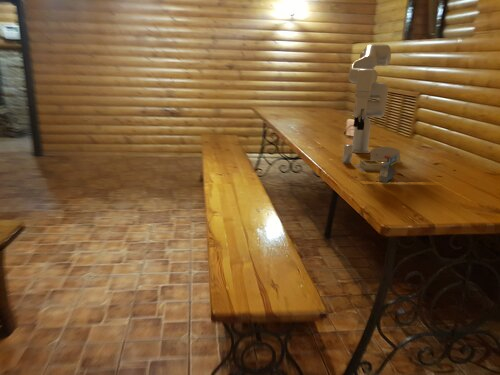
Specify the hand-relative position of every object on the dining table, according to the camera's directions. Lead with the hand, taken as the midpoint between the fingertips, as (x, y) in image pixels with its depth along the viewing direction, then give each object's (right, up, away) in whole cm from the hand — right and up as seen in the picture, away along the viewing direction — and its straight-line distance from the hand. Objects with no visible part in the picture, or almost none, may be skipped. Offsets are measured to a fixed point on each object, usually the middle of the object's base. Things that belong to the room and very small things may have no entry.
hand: (358, 128), depth 199 cm
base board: (+8, -22, 0) cm, 24 cm away
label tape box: (+8, -28, -17) cm, 34 cm away
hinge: (+20, -17, +17) cm, 31 cm away
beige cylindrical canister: (-4, -19, +9) cm, 21 cm away
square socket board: (+10, -21, -1) cm, 23 cm away
